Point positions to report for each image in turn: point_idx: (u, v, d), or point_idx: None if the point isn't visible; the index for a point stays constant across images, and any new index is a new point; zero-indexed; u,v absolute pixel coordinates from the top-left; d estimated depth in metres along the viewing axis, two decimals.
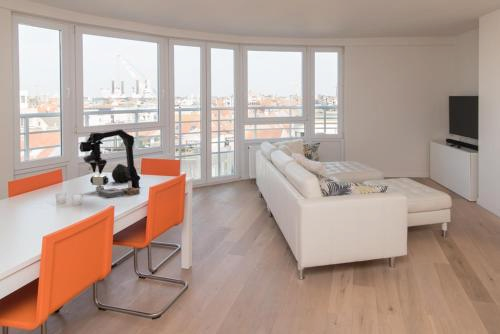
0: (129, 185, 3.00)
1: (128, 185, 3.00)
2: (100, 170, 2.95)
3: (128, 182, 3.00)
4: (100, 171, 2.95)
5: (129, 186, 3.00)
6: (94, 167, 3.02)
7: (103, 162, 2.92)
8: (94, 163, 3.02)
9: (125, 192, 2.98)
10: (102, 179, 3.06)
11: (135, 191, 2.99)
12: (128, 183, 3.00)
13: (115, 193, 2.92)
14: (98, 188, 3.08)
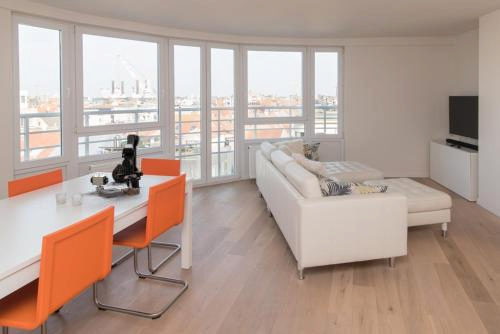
0: (129, 185, 3.00)
1: None
2: (126, 184, 3.00)
3: None
4: (127, 185, 3.00)
5: (129, 186, 3.00)
6: None
7: (117, 177, 2.93)
8: (132, 178, 3.01)
9: (125, 192, 2.98)
10: (102, 179, 3.06)
11: (135, 191, 2.99)
12: None
13: (115, 193, 2.92)
14: (98, 188, 3.08)
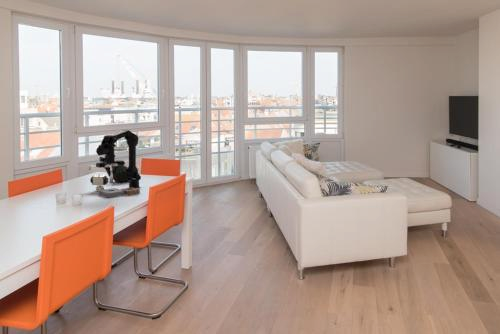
0: (110, 174, 2.94)
1: None
2: (107, 173, 2.94)
3: None
4: (108, 174, 2.94)
5: (110, 175, 2.94)
6: (113, 171, 2.96)
7: (97, 165, 2.87)
8: (113, 167, 2.95)
9: (125, 192, 2.98)
10: (102, 179, 3.06)
11: (135, 191, 2.99)
12: None
13: (115, 193, 2.92)
14: (98, 188, 3.08)
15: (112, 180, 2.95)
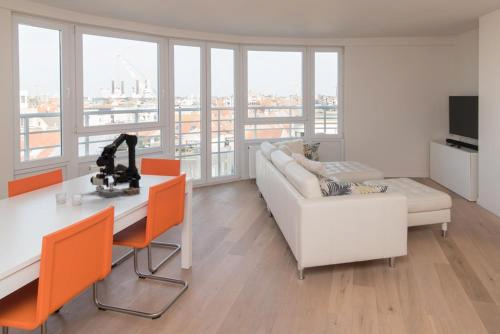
0: (110, 186, 2.96)
1: (109, 186, 2.96)
2: (106, 184, 2.94)
3: (109, 183, 2.95)
4: (106, 185, 2.94)
5: (110, 187, 2.96)
6: (114, 181, 2.98)
7: (98, 176, 2.89)
8: (115, 178, 2.98)
9: (125, 192, 2.98)
10: (102, 179, 3.06)
11: (135, 191, 2.99)
12: (109, 184, 2.96)
13: (115, 193, 2.92)
14: (98, 188, 3.08)
15: None
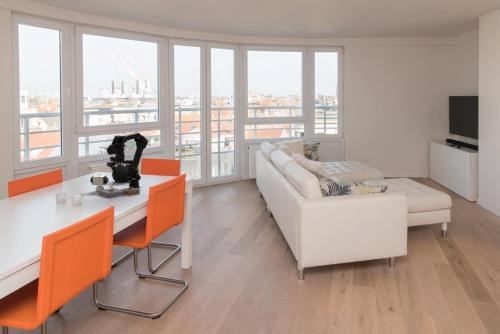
0: (110, 186, 2.96)
1: (109, 186, 2.96)
2: (113, 172, 3.02)
3: (109, 183, 2.95)
4: (114, 173, 3.03)
5: (110, 187, 2.96)
6: (127, 169, 3.09)
7: (108, 164, 2.98)
8: (127, 165, 3.09)
9: (125, 192, 2.98)
10: (102, 179, 3.06)
11: (135, 191, 2.99)
12: (109, 184, 2.96)
13: (115, 193, 2.92)
14: (98, 188, 3.08)
15: None
